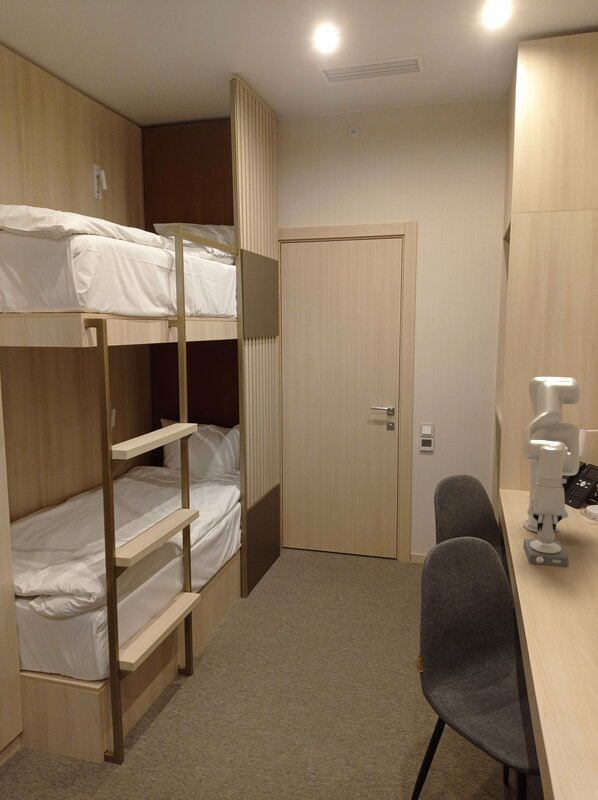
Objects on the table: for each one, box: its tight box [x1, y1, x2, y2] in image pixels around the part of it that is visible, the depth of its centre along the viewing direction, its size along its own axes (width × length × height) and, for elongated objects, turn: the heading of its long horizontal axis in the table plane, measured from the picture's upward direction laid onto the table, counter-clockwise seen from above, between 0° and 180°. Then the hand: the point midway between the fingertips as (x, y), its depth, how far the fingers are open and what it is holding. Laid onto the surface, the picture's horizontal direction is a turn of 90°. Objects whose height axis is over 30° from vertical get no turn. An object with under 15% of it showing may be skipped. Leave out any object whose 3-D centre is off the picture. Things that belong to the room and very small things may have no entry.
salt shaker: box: [536, 515, 556, 544], centre depth 200 cm, size 6×6×13 cm
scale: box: [523, 538, 569, 568], centre depth 201 cm, size 14×12×4 cm
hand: (546, 532), depth 200 cm, fingers closed on salt shaker, 3 cm apart
